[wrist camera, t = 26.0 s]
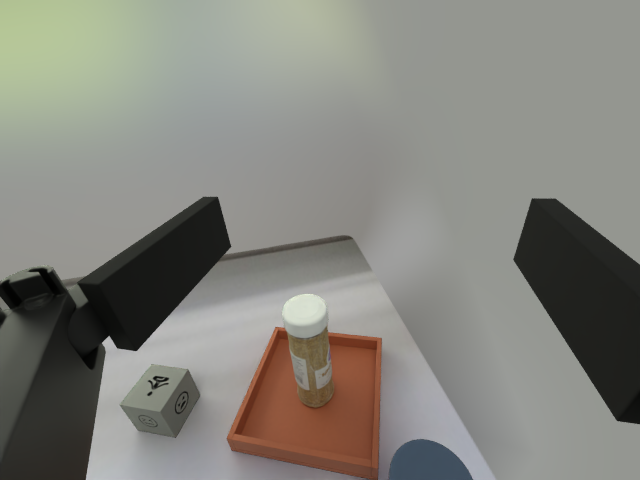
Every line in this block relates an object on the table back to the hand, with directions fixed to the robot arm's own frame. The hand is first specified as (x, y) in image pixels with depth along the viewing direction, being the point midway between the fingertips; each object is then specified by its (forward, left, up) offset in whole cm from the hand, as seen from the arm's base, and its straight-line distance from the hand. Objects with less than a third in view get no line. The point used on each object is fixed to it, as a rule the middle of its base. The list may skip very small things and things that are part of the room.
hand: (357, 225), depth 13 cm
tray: (+6, -9, -28) cm, 30 cm away
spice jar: (+6, -9, -27) cm, 30 cm away
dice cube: (+23, -4, -28) cm, 37 cm away
